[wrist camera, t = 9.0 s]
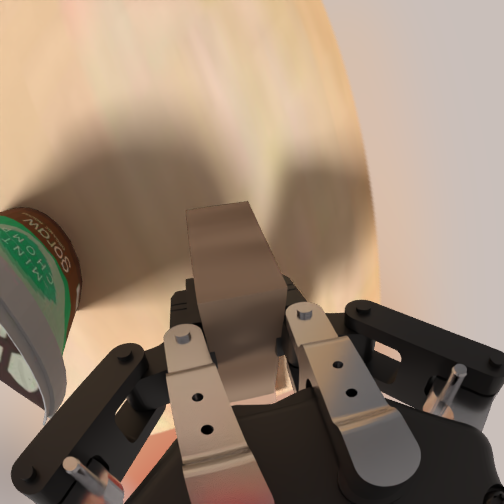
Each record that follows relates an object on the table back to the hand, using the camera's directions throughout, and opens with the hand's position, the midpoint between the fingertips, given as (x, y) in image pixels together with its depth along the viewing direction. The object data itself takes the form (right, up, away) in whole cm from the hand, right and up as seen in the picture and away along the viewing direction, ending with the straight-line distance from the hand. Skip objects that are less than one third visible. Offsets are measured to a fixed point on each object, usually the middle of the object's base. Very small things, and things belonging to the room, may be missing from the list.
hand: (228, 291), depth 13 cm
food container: (-13, +3, +3) cm, 14 cm away
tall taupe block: (0, -2, +3) cm, 4 cm away
